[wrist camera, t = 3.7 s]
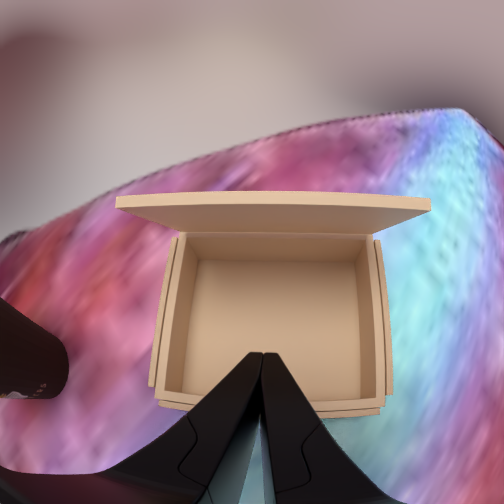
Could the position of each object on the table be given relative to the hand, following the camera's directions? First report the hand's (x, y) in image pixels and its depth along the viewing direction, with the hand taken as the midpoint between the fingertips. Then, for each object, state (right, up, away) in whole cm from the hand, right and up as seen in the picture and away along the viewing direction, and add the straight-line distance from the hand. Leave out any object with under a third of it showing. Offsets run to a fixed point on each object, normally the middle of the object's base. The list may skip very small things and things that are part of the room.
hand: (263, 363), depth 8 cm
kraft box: (+1, -2, +13) cm, 14 cm away
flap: (+1, +5, +12) cm, 13 cm away
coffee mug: (-21, -7, +13) cm, 26 cm away
